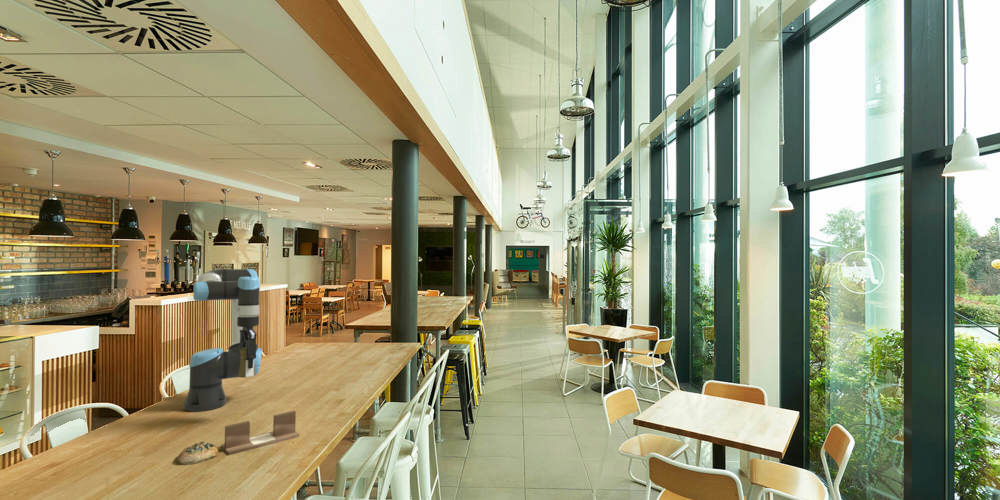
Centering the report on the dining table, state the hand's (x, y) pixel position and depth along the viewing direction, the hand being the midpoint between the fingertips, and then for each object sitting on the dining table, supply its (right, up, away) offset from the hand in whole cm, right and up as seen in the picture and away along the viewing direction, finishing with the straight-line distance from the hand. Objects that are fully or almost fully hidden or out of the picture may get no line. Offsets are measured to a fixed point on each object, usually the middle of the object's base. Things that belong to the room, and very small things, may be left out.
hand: (247, 374), depth 178 cm
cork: (0, -1, 0) cm, 1 cm away
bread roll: (+4, -17, -35) cm, 39 cm away
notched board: (+18, -17, -23) cm, 33 cm away
